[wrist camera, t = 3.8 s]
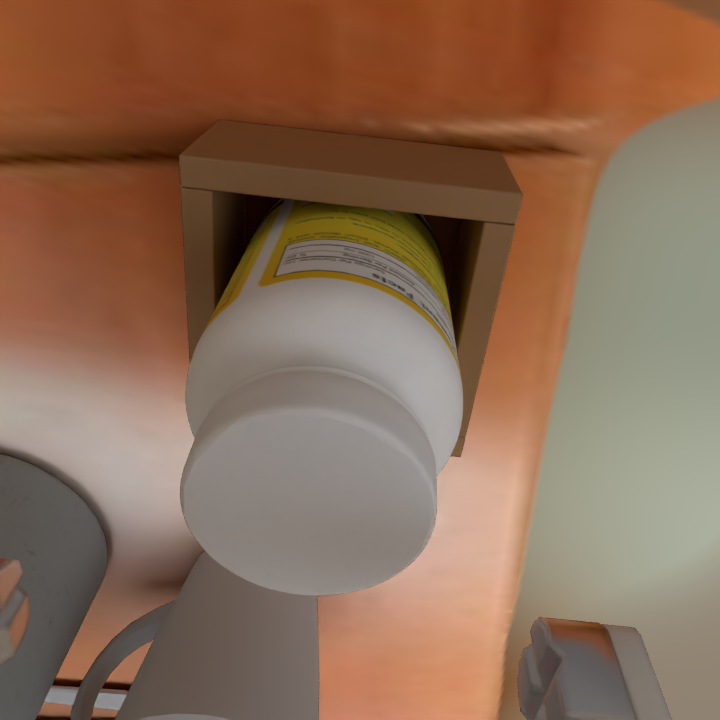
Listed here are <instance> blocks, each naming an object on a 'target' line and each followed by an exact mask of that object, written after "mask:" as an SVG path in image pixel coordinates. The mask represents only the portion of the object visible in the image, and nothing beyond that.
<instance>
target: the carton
mask: <svg viewBox="0 0 720 720" xmlns="http://www.w3.org/2000/svg"><path fill="white" fill-rule="evenodd" d="M179 170H180V185H181V186H182V187H181V189H180V191H181V210H182V229H183V247H184V266H185V285H186V303H187V322H188V341H189V359H190V363H191V360H192V357H193V353H194V350H195V348H196V346H197V344H198V342H199V339H200V337H201V335H202V334H203V332H204V330H205V328H206V326H207V324H208V322H209V320H210V318H211V316H212V314H213V313H214V311H215V309H216V307H217V305H218V303H219V301H220V299H221V297H222V295H223V293H224V291H225V289H226V287H227V286H228V284H229V282H230V280H231V278H232V276H233V274H234V272H235V270H236V268H237V266H238V264H239V262H240V260H241V258H242V256H243V254H244V252H245V194H248V195H257V196H266V197H275V198H284V199H292V200H301V201H310V202H319V203H328V204H336V205H345V206H354V207H363V208H372V209H381V210H389V211H398V212H407V213H416V214H425V215H433V216H442V217H451V218H460V219H461V224H460V229H459V235H458V240H457V245H456V251H455V256H454V261H453V266H452V272H451V277H450V282H449V287H448V298H449V305H450V311H451V317H452V323H453V330H454V336H455V343H456V350H457V356H458V362H459V368H460V373H461V380H462V387H463V417H462V423H461V428H460V433H459V436H458V440H457V442H456V445H455V447H454V450H453V452H452V454H451V456H455V457H461V454H462V450H463V446H464V441H465V436H466V433H467V429H468V424H469V420H470V416H471V412H472V408H473V403H474V399H475V395H476V391H477V386H478V382H479V378H480V374H481V370H482V365H483V361H484V357H485V353H486V349H487V344H488V340H489V336H490V332H491V328H492V323H493V319H494V315H495V311H496V307H497V302H498V298H499V294H500V290H501V286H502V281H503V277H504V273H505V269H506V265H507V260H508V256H509V252H510V248H511V244H512V239H513V235H514V231H515V224H516V222H517V218H518V214H519V210H520V206H521V201H522V197H523V194H522V192H521V190H520V188H519V186H518V184H517V182H516V180H515V178H514V176H513V174H512V172H511V170H510V168H509V166H508V164H507V163H506V161H505V159H504V157H503V155H502V153H501V152H499V151H490V150H482V149H473V148H464V147H455V146H446V145H438V144H429V143H420V142H411V141H403V140H394V139H385V138H376V137H367V136H359V135H350V134H341V133H332V132H324V131H315V130H306V129H297V128H289V127H280V126H271V125H262V124H253V123H245V122H236V121H227V120H218V121H217V122H216V123H215V124H214V125H213V126H212V127H210V128H209V129H208V130H207V131H206V132H205V133H204V134H202V135H201V136H200V137H199V138H198V139H197V140H196V141H195V142H193V143H192V144H191V145H190V146H189V147H188V148H187V149H185V150H184V151H183V152H182V153H181V154H180V155H179Z"/></svg>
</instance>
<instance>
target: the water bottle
mask: <svg viewBox="0 0 720 720" xmlns="http://www.w3.org/2000/svg"><path fill="white" fill-rule="evenodd" d="M0 558H6V559H14V560H19V562H20V565H21V569H22V572H23V576H22V578H21V579H20V581H19V583H18V585H19V586H20V587H21V588H23V589H24V590H25V591H26V592H27V593H28V594H29V599H30V603H31V610H30V620H29V623H28V627H27V630H26V633H25V637H24V639H23V641H22V642H21V644H20V646H19V648H18V650H17V652H16V654H15V655H14V656H13V657H11V658H10V659H8V660H7V661H6V662H4V663H3V664H1V665H0V720H35V719H36V717H37V715H38V713H39V711H40V709H41V707H42V705H43V703H44V700H45V698H46V696H47V694H48V692H49V690H50V688H51V686H52V684H53V682H54V680H55V678H56V676H57V674H58V672H59V669H60V667H61V665H62V663H63V661H64V659H65V657H66V655H67V653H68V651H69V649H70V647H71V645H72V643H73V641H74V638H75V636H76V634H77V632H78V630H79V628H80V626H81V624H82V622H83V620H84V618H85V616H86V614H87V612H88V610H89V607H90V605H91V603H92V601H93V599H94V597H95V595H96V593H97V591H98V589H99V587H100V585H101V582H102V580H103V578H104V576H105V573H106V567H107V559H108V552H107V547H106V541H105V536H104V533H103V531H102V529H101V526H100V524H99V522H98V520H97V518H96V517H95V515H94V514H93V513H92V511H91V510H90V508H89V507H88V506H87V504H86V503H85V502H84V501H83V500H82V499H81V498H80V497H79V496H78V495H77V494H76V493H75V492H74V491H73V490H72V489H70V488H69V487H67V486H66V485H65V484H63V483H62V482H61V481H59V480H58V479H56V478H55V477H54V476H52V475H50V474H48V473H46V472H45V471H43V470H41V469H39V468H37V467H35V466H33V465H31V464H29V463H26V462H23V461H21V460H18V459H16V458H13V457H10V456H6V455H2V454H0Z"/></svg>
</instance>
